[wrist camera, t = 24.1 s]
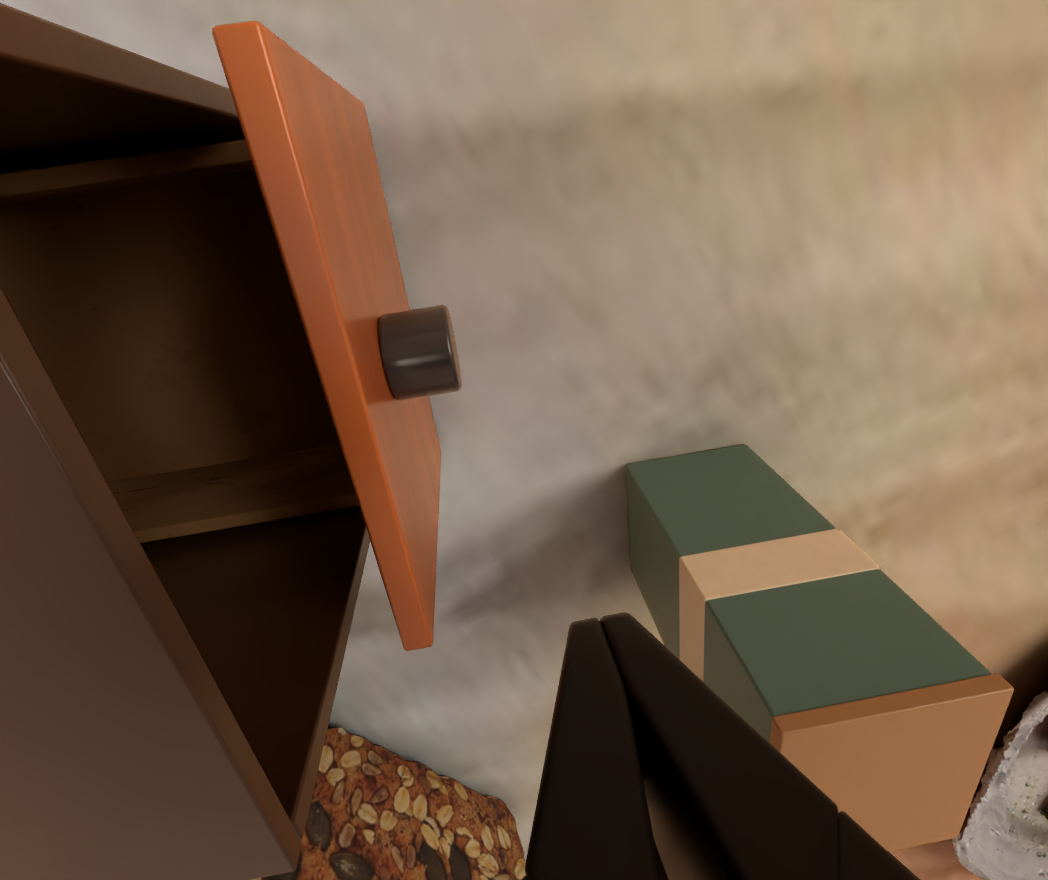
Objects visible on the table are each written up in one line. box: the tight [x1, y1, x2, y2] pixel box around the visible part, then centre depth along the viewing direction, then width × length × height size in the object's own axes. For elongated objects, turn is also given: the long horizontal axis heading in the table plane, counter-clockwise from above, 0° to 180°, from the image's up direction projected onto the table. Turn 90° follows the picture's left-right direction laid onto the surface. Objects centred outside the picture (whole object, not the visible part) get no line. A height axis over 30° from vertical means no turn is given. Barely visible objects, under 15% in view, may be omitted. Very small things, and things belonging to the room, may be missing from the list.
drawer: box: [0, 21, 461, 651], centre depth 12 cm, size 19×10×9 cm, turn 98°
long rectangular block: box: [626, 444, 1014, 852], centre depth 17 cm, size 5×5×11 cm
